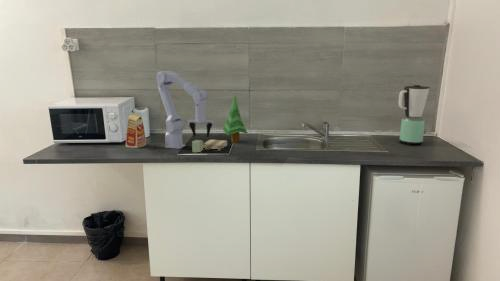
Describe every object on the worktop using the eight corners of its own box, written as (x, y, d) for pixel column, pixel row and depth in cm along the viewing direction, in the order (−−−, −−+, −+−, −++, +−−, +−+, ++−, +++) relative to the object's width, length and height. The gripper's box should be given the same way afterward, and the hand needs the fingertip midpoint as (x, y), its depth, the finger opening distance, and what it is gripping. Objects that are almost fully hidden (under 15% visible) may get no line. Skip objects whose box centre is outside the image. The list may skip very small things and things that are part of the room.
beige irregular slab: (202, 148, 209) (202, 143, 208) (210, 144, 219) (210, 139, 219) (220, 150, 206) (220, 145, 205) (227, 145, 216) (227, 140, 215)
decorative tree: (251, 140, 228) (251, 92, 221) (236, 145, 215) (235, 95, 208) (234, 137, 235) (234, 91, 228) (218, 142, 223) (217, 93, 216)
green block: (192, 152, 203) (191, 141, 201) (195, 150, 207) (195, 139, 205) (199, 152, 201) (199, 142, 200) (203, 150, 206) (202, 140, 204)
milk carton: (125, 146, 214) (122, 113, 209) (135, 143, 222) (133, 110, 217) (138, 148, 211) (135, 114, 206) (148, 144, 219) (145, 111, 214)
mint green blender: (415, 139, 230) (421, 84, 221) (430, 145, 217) (437, 86, 209) (388, 141, 226) (394, 84, 217) (402, 146, 213) (408, 86, 205)
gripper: (185, 113, 196) (186, 137, 199) (212, 113, 194) (212, 138, 198) (189, 110, 203) (189, 134, 206) (214, 111, 201) (215, 135, 205)
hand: (201, 136), depth 202 cm, fingers open, 7 cm apart
